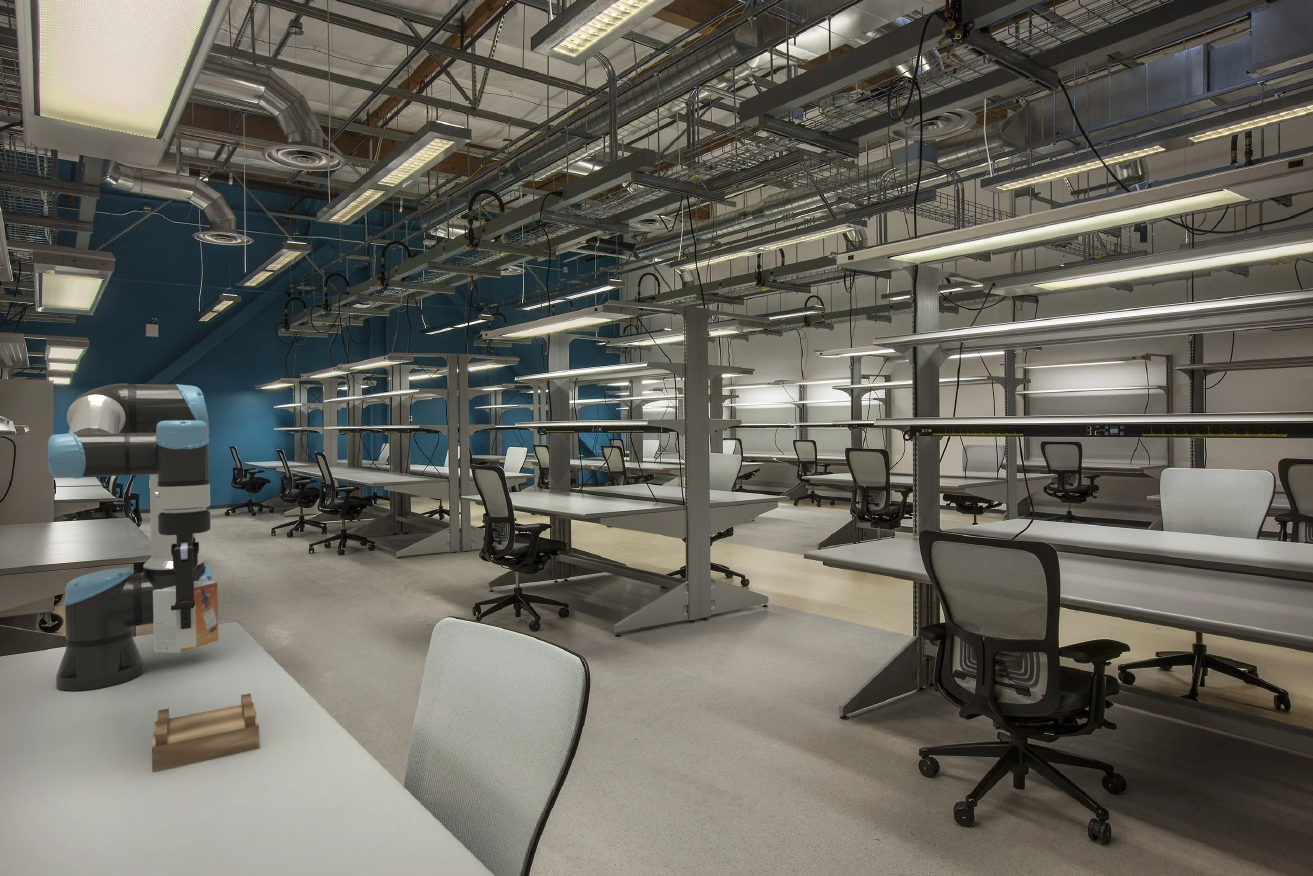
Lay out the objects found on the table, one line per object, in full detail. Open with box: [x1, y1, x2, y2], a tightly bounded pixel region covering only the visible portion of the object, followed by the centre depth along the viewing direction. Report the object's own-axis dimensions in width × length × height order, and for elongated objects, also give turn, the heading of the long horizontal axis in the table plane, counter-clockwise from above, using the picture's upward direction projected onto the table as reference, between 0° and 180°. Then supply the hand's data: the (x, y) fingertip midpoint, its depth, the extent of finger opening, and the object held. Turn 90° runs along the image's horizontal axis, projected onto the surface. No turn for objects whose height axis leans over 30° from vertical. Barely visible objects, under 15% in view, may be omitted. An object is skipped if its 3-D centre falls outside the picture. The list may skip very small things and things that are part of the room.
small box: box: [153, 581, 219, 654], centre depth 123 cm, size 8×6×10 cm
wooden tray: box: [151, 693, 260, 773], centre depth 124 cm, size 12×15×6 cm
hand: (187, 639), depth 123 cm, fingers closed on small box, 9 cm apart
